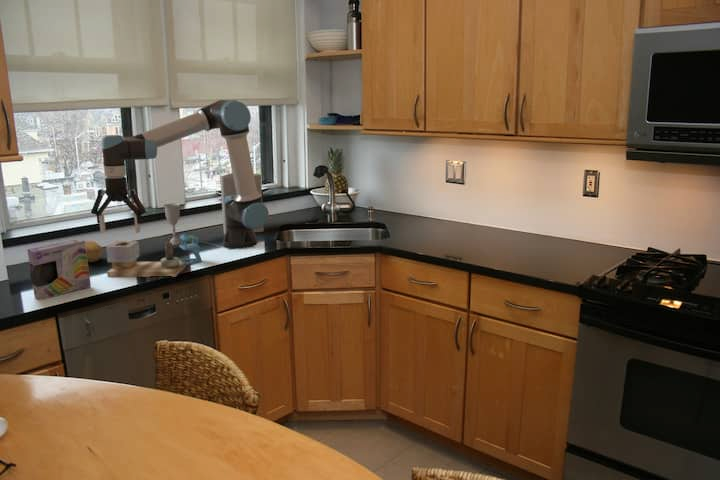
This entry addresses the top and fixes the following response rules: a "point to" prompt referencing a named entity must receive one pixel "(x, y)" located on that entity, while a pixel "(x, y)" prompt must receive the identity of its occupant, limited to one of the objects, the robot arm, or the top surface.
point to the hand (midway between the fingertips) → (120, 232)
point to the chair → (190, 248)
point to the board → (148, 266)
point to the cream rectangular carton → (230, 189)
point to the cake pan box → (59, 268)
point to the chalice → (172, 219)
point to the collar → (123, 251)
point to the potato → (93, 251)
